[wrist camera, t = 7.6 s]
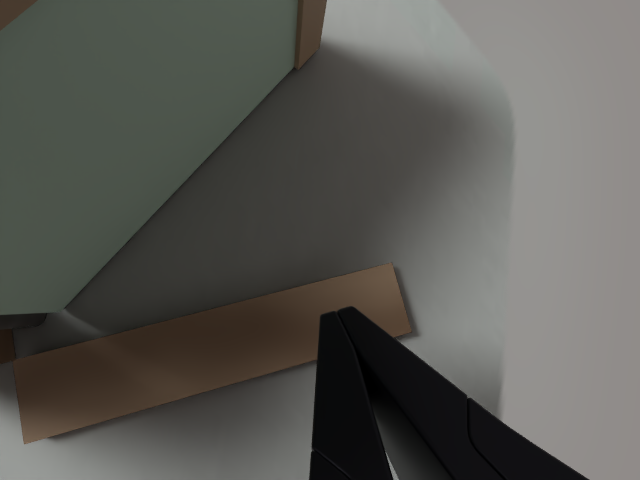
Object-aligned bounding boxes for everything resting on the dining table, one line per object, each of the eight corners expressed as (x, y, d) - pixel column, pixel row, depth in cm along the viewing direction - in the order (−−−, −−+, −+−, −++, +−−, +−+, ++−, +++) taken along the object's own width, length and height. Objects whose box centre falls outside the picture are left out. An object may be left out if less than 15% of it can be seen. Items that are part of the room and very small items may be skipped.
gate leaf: (65, 316, 14) (-606, 359, 4) (26, 284, 15) (-753, 227, 4) (319, 47, 18) (384, -372, 7) (287, 21, 18) (299, -438, 7)
